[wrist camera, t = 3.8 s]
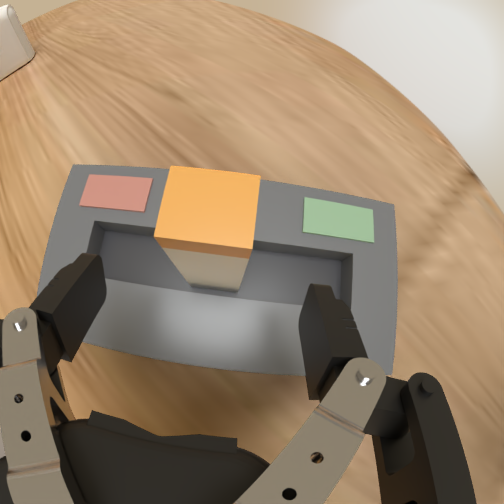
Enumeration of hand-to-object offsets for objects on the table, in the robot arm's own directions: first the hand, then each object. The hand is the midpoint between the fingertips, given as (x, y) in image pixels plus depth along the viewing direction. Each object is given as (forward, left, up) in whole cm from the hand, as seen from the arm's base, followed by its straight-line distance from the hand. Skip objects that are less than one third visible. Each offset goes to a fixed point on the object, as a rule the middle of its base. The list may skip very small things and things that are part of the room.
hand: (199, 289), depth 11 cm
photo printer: (+19, -43, -9) cm, 48 cm away
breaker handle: (-1, -2, -8) cm, 8 cm away
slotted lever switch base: (-1, -2, -9) cm, 9 cm away
